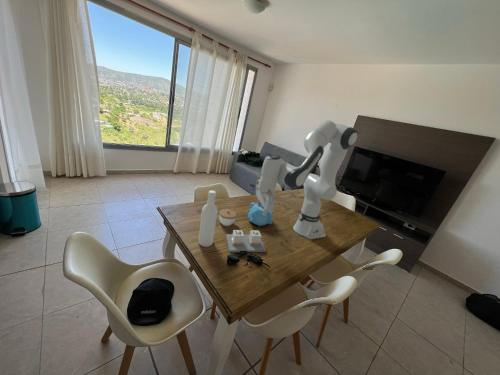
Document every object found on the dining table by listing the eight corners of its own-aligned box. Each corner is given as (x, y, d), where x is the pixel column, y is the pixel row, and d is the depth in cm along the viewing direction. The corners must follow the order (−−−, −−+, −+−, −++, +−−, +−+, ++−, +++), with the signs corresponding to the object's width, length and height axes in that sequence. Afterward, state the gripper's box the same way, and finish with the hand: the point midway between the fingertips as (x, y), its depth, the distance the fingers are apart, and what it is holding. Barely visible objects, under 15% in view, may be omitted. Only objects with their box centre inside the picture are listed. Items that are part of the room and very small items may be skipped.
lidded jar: (214, 223, 129) (216, 210, 125) (224, 217, 138) (226, 204, 134) (228, 230, 125) (230, 217, 121) (237, 223, 134) (240, 211, 130)
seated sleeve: (240, 238, 117) (242, 229, 115) (242, 245, 112) (244, 236, 110) (230, 238, 116) (232, 229, 113) (232, 245, 110) (234, 236, 108)
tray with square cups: (258, 236, 125) (260, 225, 122) (265, 251, 112) (268, 240, 110) (225, 235, 119) (227, 224, 116) (229, 252, 107) (231, 240, 104)
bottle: (194, 242, 108) (200, 191, 97) (203, 235, 115) (210, 187, 104) (207, 249, 106) (214, 197, 95) (215, 241, 112) (223, 192, 102)
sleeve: (257, 238, 120) (259, 230, 118) (259, 245, 115) (262, 236, 113) (247, 238, 118) (249, 229, 116) (250, 245, 113) (252, 236, 111)
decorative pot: (271, 230, 134) (276, 212, 129) (246, 225, 133) (251, 207, 128) (268, 217, 150) (273, 201, 145) (247, 213, 148) (250, 196, 143)
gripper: (280, 195, 96) (273, 221, 101) (266, 179, 114) (261, 201, 119) (267, 195, 94) (261, 220, 99) (255, 178, 112) (251, 201, 117)
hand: (261, 210), depth 109 cm, fingers open, 8 cm apart
